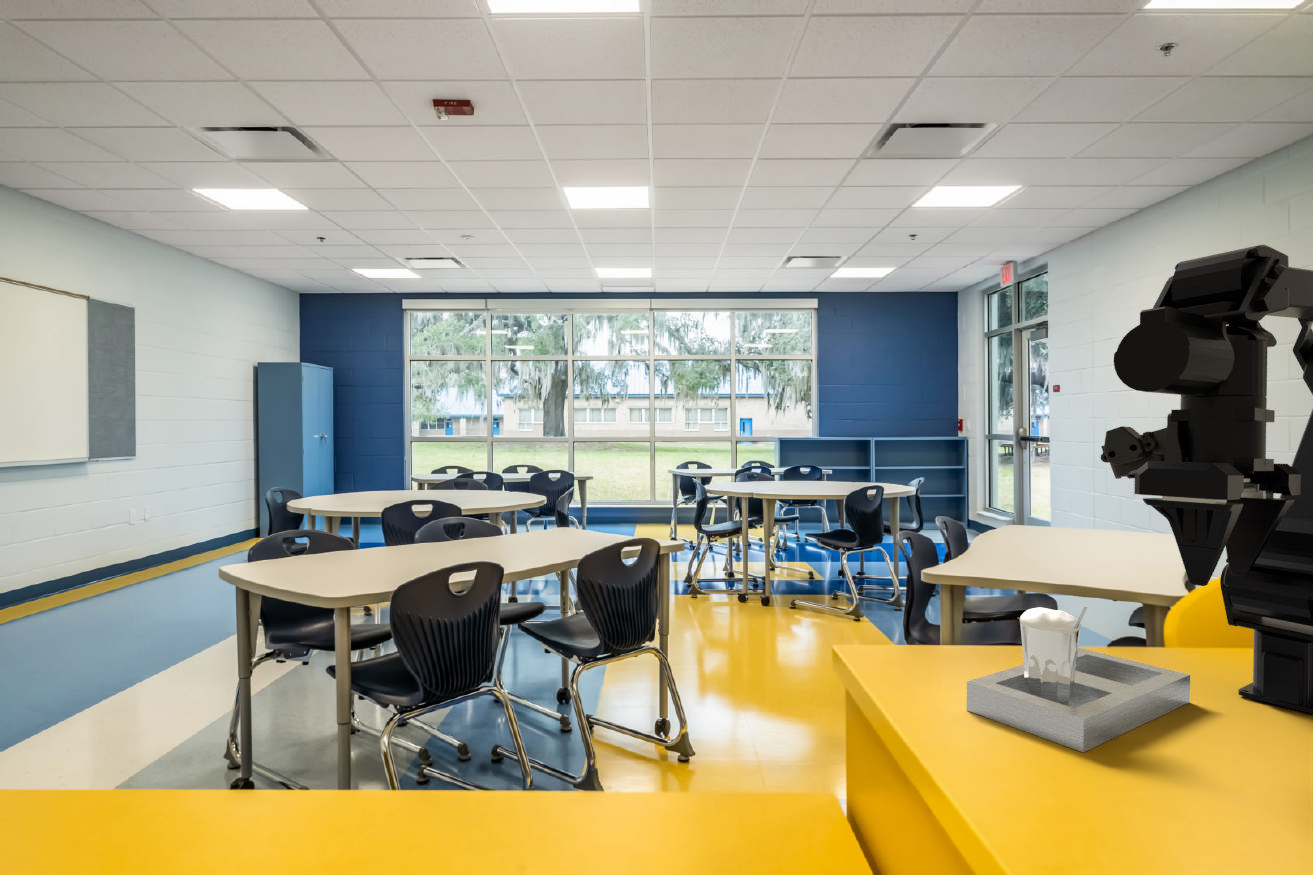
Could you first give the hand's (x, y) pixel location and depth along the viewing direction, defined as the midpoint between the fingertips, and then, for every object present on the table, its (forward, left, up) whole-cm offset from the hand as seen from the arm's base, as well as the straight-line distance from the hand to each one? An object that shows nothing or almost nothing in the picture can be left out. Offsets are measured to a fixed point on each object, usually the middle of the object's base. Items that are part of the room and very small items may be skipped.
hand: (1219, 579), depth 59 cm
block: (+7, -8, -12) cm, 16 cm away
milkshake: (+12, -8, -12) cm, 19 cm away
